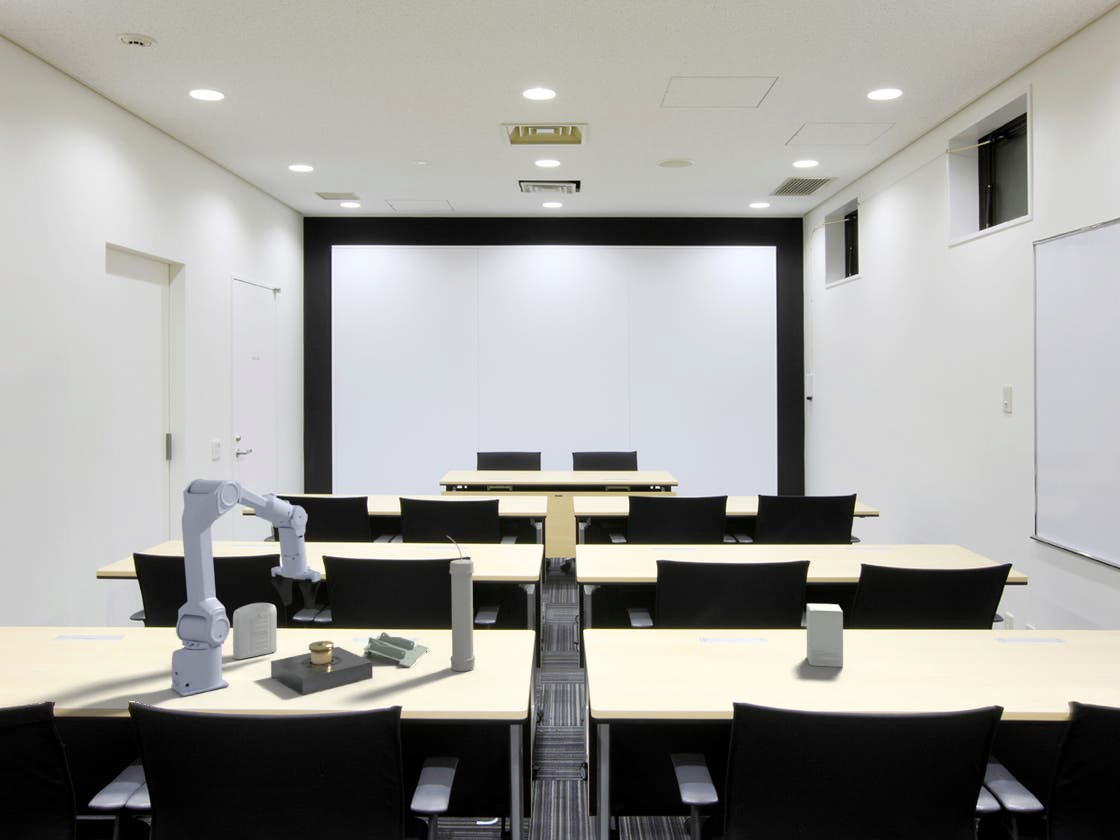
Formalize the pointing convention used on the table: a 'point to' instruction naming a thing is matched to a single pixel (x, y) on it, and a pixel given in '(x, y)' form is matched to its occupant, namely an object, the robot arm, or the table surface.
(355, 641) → the table surface
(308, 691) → the grey flat block
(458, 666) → the pipe
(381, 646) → the metal bracket
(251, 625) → the white rounded block
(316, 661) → the round door knob
